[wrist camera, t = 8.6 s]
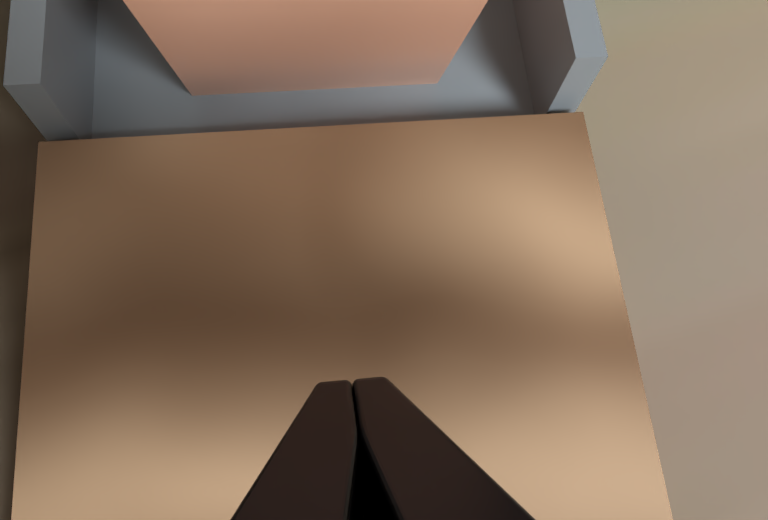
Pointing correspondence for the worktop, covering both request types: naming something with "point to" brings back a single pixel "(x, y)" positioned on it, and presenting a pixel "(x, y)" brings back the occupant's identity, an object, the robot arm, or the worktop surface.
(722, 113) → the worktop surface
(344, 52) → the terracotta block
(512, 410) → the tan wooden slab
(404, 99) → the slate tray
